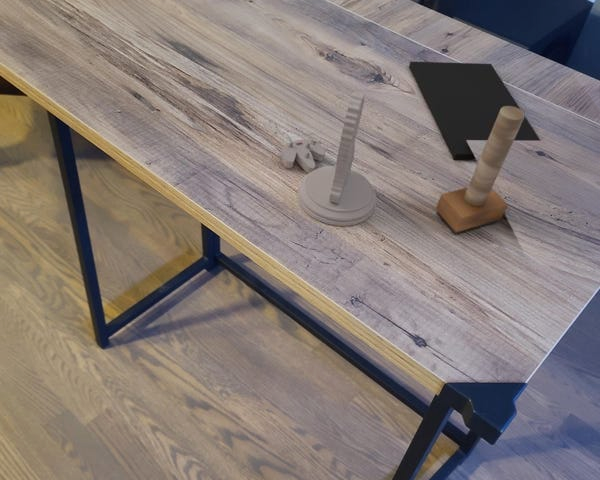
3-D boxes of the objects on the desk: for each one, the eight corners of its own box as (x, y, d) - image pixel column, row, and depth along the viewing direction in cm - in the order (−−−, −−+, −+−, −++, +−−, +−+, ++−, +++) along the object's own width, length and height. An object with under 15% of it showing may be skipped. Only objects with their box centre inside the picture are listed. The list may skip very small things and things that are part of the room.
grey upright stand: (382, 185, 77) (412, 77, 65) (367, 235, 70) (397, 126, 59) (308, 165, 77) (325, 56, 66) (287, 213, 71) (301, 101, 60)
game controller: (301, 181, 75) (303, 164, 73) (239, 137, 80) (240, 120, 78) (331, 163, 78) (334, 146, 76) (270, 122, 83) (271, 105, 81)
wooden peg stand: (477, 200, 77) (524, 96, 65) (499, 222, 74) (551, 118, 63) (433, 212, 74) (474, 106, 63) (454, 236, 72) (500, 130, 60)
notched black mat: (488, 69, 99) (491, 63, 98) (546, 159, 84) (549, 154, 83) (408, 67, 97) (410, 61, 96) (453, 159, 82) (455, 153, 81)
